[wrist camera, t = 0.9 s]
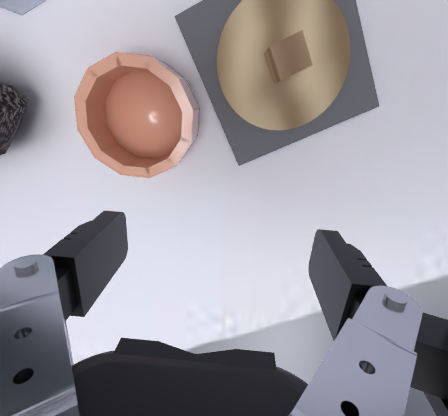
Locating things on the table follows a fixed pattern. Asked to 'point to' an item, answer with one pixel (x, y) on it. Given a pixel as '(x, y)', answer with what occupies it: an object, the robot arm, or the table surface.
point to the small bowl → (20, 5)
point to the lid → (283, 60)
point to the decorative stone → (10, 114)
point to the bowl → (136, 114)
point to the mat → (248, 133)
